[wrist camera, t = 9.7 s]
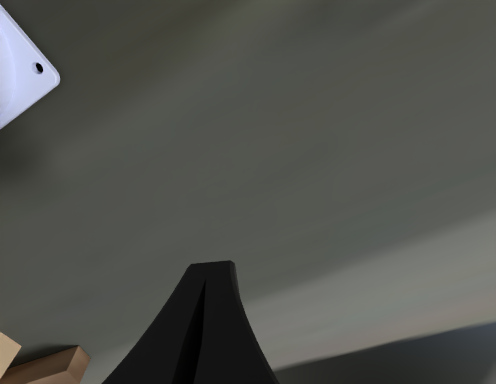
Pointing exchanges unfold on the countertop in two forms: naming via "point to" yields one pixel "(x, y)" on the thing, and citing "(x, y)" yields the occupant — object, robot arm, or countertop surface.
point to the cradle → (50, 369)
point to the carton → (7, 352)
